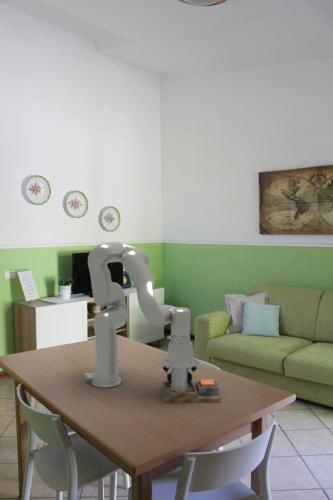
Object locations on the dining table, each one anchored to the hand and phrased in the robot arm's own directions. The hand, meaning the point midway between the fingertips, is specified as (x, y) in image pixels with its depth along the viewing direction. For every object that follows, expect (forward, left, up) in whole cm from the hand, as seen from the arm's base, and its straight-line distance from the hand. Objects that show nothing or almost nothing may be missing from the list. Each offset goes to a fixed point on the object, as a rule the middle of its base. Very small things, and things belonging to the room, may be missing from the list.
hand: (179, 382), depth 173 cm
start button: (+11, 0, -2) cm, 11 cm away
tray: (+4, 0, -5) cm, 7 cm away
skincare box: (0, 0, -3) cm, 3 cm away
